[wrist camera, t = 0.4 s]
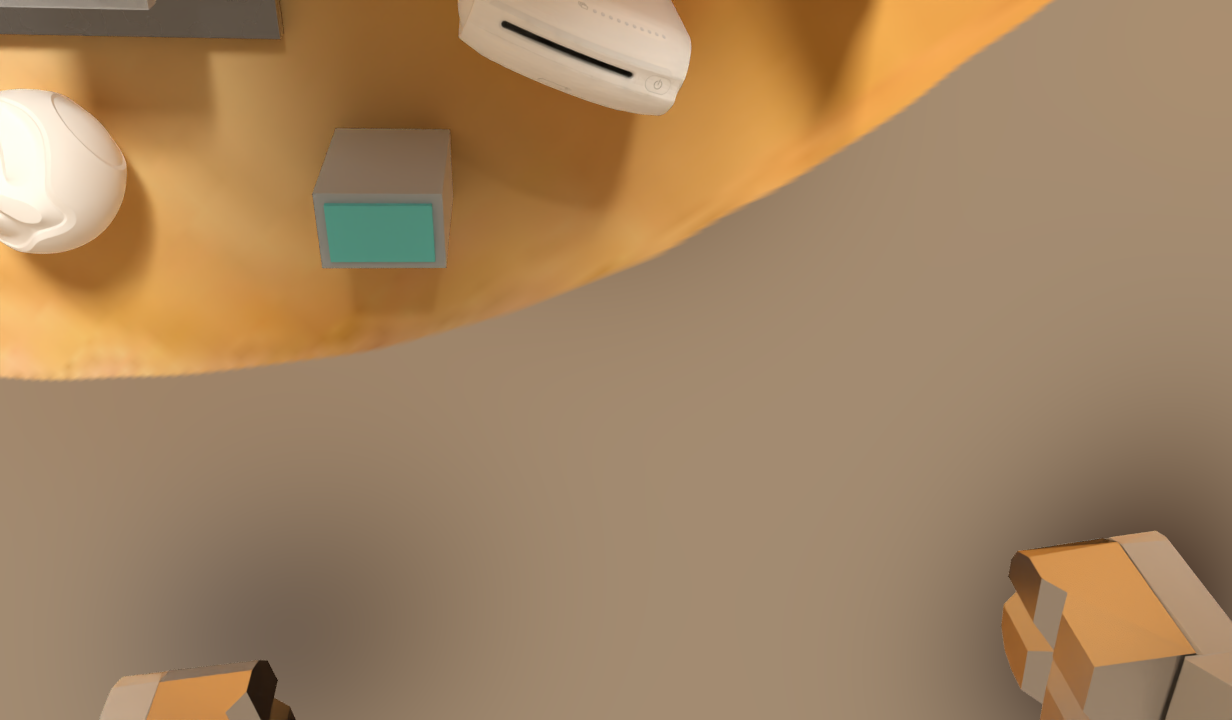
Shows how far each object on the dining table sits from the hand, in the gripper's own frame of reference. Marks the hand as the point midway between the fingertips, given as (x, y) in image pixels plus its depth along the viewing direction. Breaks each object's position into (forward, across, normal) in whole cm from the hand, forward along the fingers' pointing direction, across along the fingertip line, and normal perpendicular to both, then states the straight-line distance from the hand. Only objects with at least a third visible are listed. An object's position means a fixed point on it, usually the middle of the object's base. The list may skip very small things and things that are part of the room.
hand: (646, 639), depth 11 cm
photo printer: (+46, -1, +4) cm, 46 cm away
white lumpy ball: (+46, +26, +9) cm, 53 cm away
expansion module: (+45, +10, +12) cm, 48 cm away
